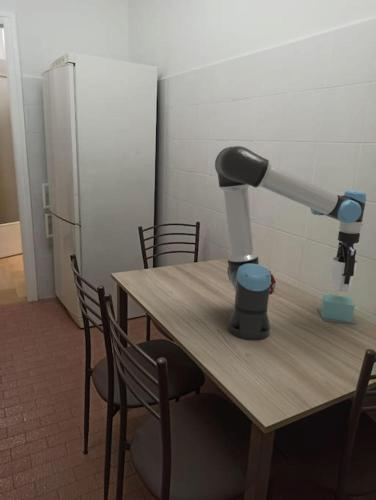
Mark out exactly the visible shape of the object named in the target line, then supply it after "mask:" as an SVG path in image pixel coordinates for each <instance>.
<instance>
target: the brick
mask: <svg viewBox="0 0 376 500" xmlns="http://www.w3.org/2000/svg"><path fill="white" fill-rule="evenodd" d="M320 308H321V314H322V317H321V318H322V319H323V318H328V319H334V320H340V321H347V322H352V318H353V316H354V311H355V303H354V300H353V297H350V296H343V295H335V294H332V293H331V294H330V293H325V292H324V293H323V294H322V301H321V305H320ZM353 319H354V318H353Z"/></svg>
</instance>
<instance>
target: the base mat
mask: <svg viewBox="0 0 376 500" xmlns="http://www.w3.org/2000/svg"><path fill="white" fill-rule="evenodd" d="M316 309H317V311H318V312H319V313H318V314H320V317H321V318H322V314H321V307H317V308H316ZM322 320H323V322H326V323H339V324H350V325H357V322H356V321H355V320H354V318H352V322H347V321H340V320H334V319H328V318H322Z"/></svg>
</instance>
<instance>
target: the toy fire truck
mask: <svg viewBox="0 0 376 500" xmlns="http://www.w3.org/2000/svg"><path fill="white" fill-rule="evenodd" d="M268 270H269V269H268ZM269 271H270V273H271V272H272V271H271V270H269ZM276 285H277V284H276V279H275V277H274V275H273V273H271V284H270V291H269V295H270V294H272V293H273V292H274V290H275V288H276Z"/></svg>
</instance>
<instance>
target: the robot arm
mask: <svg viewBox="0 0 376 500" xmlns="http://www.w3.org/2000/svg"><path fill="white" fill-rule="evenodd" d="M214 169H215V171H216V174H217V178H218V179H217V180H218V181H217V182H218V187H219V188H220V189H221V190H222V191H223V194H224V202H225V203H224V204H225V213H226V222H227V231H228V232H227V233H228V239H229V240H228V241H229V247H230V254H228V256H227V270H226V271H227V276H228V279H229V282H230V283H232V286H233V288H234V291H235V295H234V306H233V309H232V312H231V315H230V317H229V318H228V319H229V320H228V321H227V330H228V332H229V333H230V334H232V335H233V336H235V337H238V338H241V339H244V340H253V341H254V340H255V341H256V340H258V341H259V340H263V339H266V338H268V336H270V334H271V324H270V320H269V314H268V307H269V306H268V305H269V299H270V298H269V297H270V294H269V291H270V284H271V274H272V273H270V271H271V270H270V271H269V269H268V268H267V267H266V266H262V265H261V264H260V263H259V262H260V261H259V254H258V253H257V252H256V251H254V245H253V242H254V241H253V233H252V222H251V212H250V210H251V209H250V200H249V191H248V188H249V187H250V186H251V187H252V188H255V189H256V188H259V187H261V188H264V189H266V190H268V191H270V192H272V193H275V194H277V195H279V196H281V197H284V198H287V199H289V200H291V201H293V202H296V203H298V204H300V205H303V206H305V207H307V208H310V212H311V214H312V215H315V216H324V217H325V216H326V217H328V218H331V219H335V220H336V221H339V228H338V229H339V231H338V235H337V241H338V246H337V247H338V248H337V253H336V256H335V257H339V259H338V262H342V263H345V267H344V274H342V276H343V277H342V283H341V290H340V291H341V292H342V293H348V292H349V291H350V290H349V284H350V278H351V276H353V275H354V264H355V260H356V254H357V250H356V249H355V248H354V245H355V244H358V243H359V242H360V239H361V234H360V232H361V230H362V226H364V224H363V217H364V211H365V206H366V204H367V203H366V201H367V194H366V192H365V191H362V190H353V189H352V190H350V189H348V190H347V189H346V190H345V191H344V194H343V195H338V194H336V193H335V192H332V191H330V190H328V189H326V188H323V187H321V186H320V185H317V184H315V183H312V182H310V181H308V180H306V179H304V178H301V177H299V176H297V175H295V174H292V173H290V172H288V171H286V170H283V169H281V168H279V167H276V166H275V165H273V164H271V162H270V160H269V159H267V158H265V157H263V156H261V155H258V154H257V153H255V152H254V151H252V150H250V149H249V148H246V146H243V145H242V146H241V145H234V146H229V147H225V148H223V149H222V150H220V152H219V153H218V154H217V156H216V158H215V162H214ZM354 276H355V275H354ZM348 290H349V291H348ZM340 291H339V292H340Z"/></svg>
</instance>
